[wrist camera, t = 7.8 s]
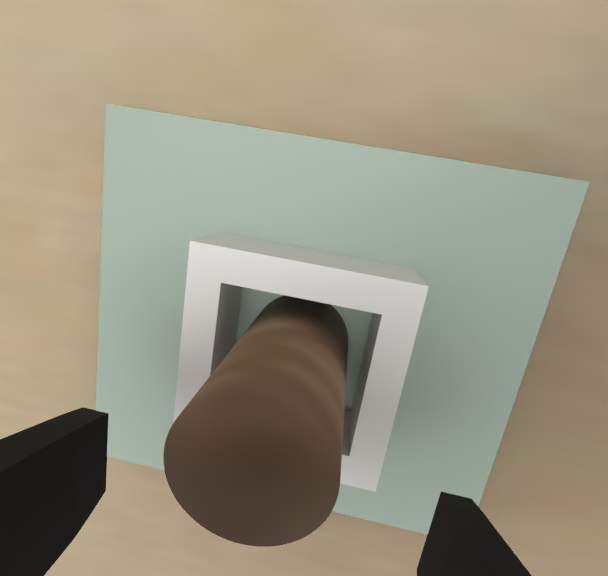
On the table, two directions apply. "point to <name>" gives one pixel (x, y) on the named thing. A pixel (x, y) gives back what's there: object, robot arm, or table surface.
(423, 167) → the socket board
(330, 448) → the walnut peg
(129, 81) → the table surface
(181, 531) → the table surface
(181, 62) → the table surface
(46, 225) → the table surface
